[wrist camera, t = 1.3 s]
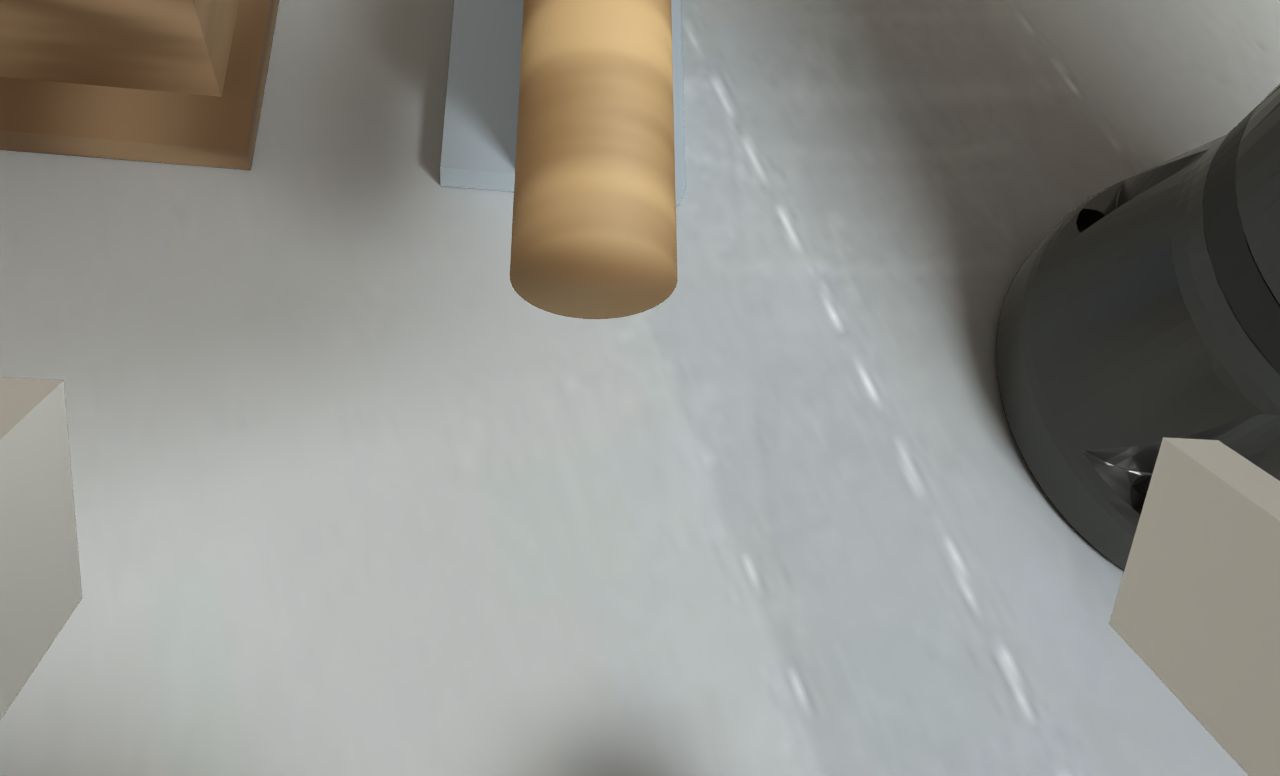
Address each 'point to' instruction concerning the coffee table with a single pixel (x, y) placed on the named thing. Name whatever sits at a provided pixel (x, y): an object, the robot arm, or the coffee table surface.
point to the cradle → (508, 96)
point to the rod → (595, 158)
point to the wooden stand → (135, 78)
